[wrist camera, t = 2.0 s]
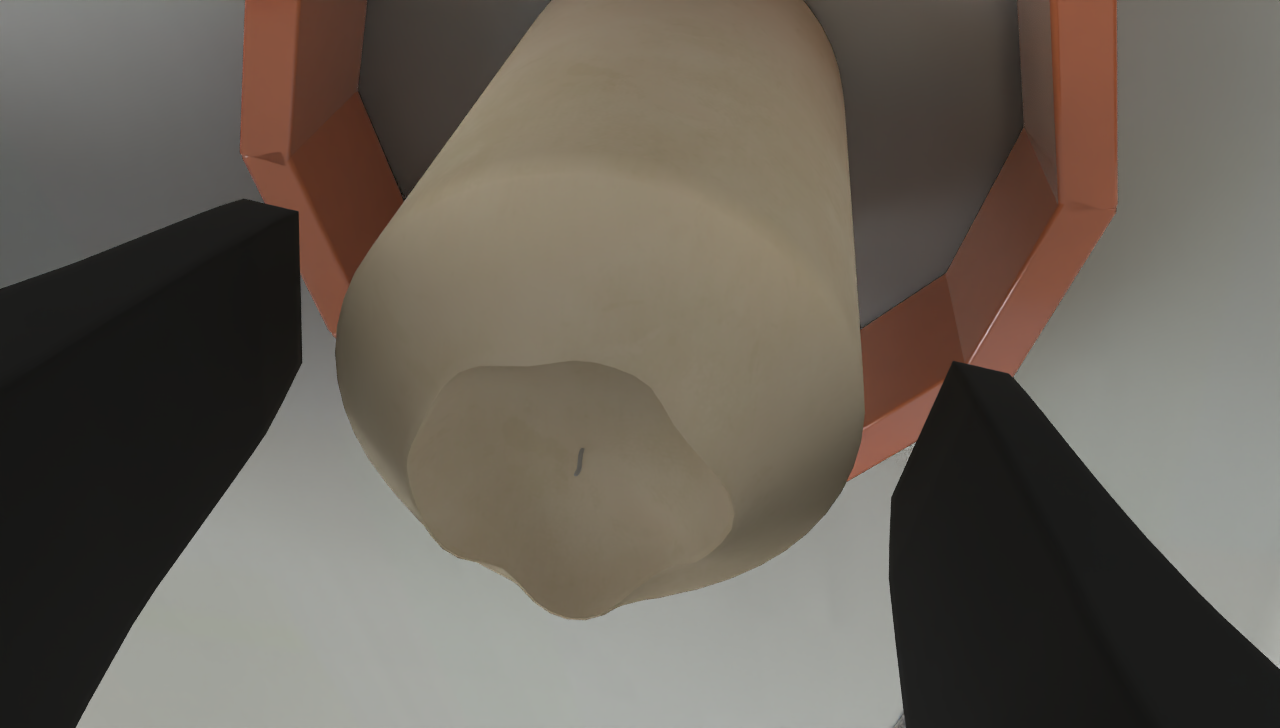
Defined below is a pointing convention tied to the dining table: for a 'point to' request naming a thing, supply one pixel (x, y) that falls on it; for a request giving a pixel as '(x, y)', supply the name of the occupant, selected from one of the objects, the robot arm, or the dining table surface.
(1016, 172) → the orange faceted bracelet
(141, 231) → the dining table surface
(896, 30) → the dining table surface
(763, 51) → the candle
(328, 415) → the dining table surface
